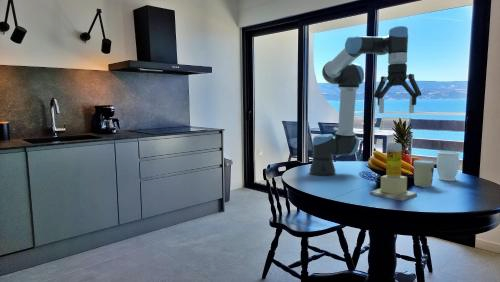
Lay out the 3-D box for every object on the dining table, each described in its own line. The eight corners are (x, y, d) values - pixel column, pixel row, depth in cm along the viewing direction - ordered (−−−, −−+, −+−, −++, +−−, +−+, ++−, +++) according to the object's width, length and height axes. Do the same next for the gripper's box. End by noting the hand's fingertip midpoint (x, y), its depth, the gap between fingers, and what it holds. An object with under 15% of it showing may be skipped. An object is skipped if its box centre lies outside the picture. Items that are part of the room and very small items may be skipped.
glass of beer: (383, 176, 149) (384, 143, 147) (389, 174, 153) (390, 142, 152) (397, 178, 144) (398, 144, 143) (403, 176, 149) (404, 143, 147)
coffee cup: (436, 187, 162) (437, 163, 161) (415, 186, 164) (416, 162, 162) (430, 183, 171) (431, 160, 170) (410, 182, 173) (411, 159, 172)
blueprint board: (370, 194, 151) (370, 191, 151) (385, 189, 159) (385, 186, 159) (402, 200, 140) (402, 197, 139) (416, 195, 148) (417, 192, 148)
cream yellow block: (380, 191, 150) (380, 176, 149) (389, 188, 155) (389, 174, 154) (397, 195, 144) (398, 179, 143) (406, 192, 149) (407, 176, 148)
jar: (462, 180, 176) (464, 152, 174) (449, 182, 172) (450, 153, 171) (444, 176, 186) (445, 150, 184) (431, 178, 182) (432, 151, 180)
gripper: (366, 66, 151) (365, 113, 153) (423, 59, 132) (421, 113, 134) (375, 67, 156) (374, 112, 158) (431, 61, 136) (429, 112, 139)
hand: (395, 113), depth 146 cm, fingers open, 13 cm apart
